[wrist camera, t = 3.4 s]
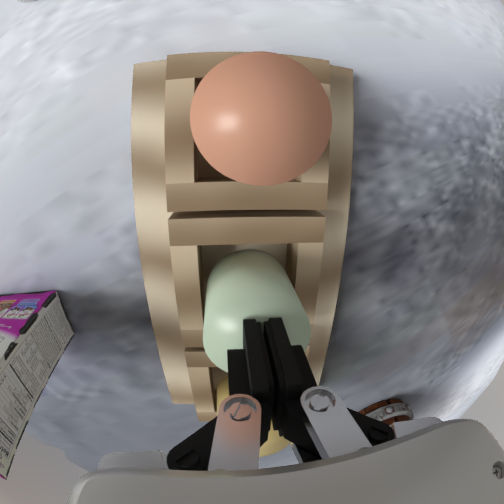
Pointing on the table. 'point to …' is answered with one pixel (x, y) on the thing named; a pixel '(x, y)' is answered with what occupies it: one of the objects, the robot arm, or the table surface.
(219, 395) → the mustard button
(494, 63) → the table surface
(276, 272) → the sage button
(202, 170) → the wooden compartment tray
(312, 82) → the salmon orange rounded piece
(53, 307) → the candy bar box
